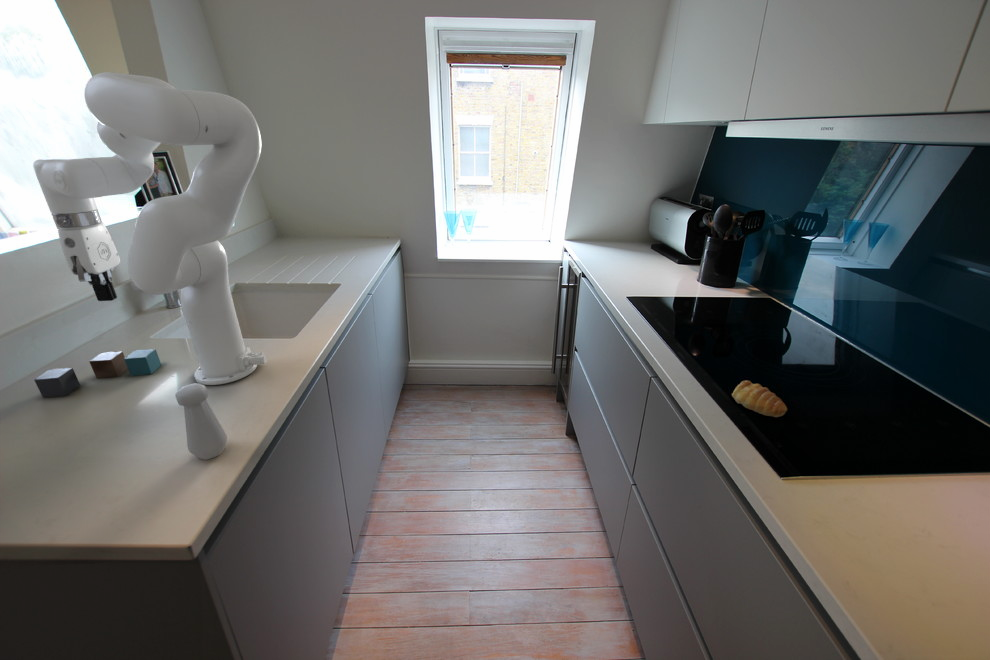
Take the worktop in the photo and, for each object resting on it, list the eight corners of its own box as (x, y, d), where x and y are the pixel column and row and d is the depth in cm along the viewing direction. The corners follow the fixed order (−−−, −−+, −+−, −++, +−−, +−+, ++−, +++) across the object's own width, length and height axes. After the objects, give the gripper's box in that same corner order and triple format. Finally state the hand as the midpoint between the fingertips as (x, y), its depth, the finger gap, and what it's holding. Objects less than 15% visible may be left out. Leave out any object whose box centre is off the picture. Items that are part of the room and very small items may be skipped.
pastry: (792, 412, 87) (797, 396, 85) (773, 423, 84) (778, 407, 82) (746, 390, 94) (750, 375, 92) (726, 400, 91) (730, 384, 89)
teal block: (161, 365, 106) (155, 348, 104) (151, 374, 102) (145, 357, 100) (141, 366, 105) (135, 350, 103) (130, 375, 101) (123, 358, 99)
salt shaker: (212, 465, 74) (189, 399, 68) (183, 461, 75) (158, 395, 69) (237, 443, 79) (218, 380, 74) (210, 439, 80) (189, 377, 75)
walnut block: (129, 367, 105) (122, 351, 103) (117, 376, 101) (111, 359, 99) (108, 369, 104) (101, 352, 102) (96, 378, 100) (88, 361, 98)
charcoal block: (80, 385, 98) (72, 367, 96) (66, 395, 94) (57, 377, 92) (58, 386, 97) (49, 369, 95) (42, 397, 93) (33, 379, 91)
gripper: (73, 226, 89) (105, 310, 97) (118, 213, 103) (143, 288, 110) (31, 227, 88) (67, 312, 96) (81, 214, 102) (109, 289, 109)
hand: (107, 299), depth 103 cm, fingers closed
